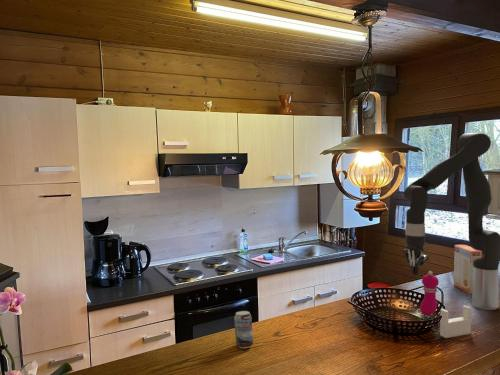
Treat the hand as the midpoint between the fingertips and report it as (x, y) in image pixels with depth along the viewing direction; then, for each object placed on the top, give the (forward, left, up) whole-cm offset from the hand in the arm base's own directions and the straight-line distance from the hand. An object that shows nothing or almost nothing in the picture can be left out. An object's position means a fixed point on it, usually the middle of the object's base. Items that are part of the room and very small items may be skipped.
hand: (414, 274), depth 159 cm
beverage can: (+76, +6, -16) cm, 78 cm away
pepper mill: (0, +9, -16) cm, 19 cm away
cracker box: (-42, -14, -16) cm, 47 cm away
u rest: (0, +22, -16) cm, 27 cm away
